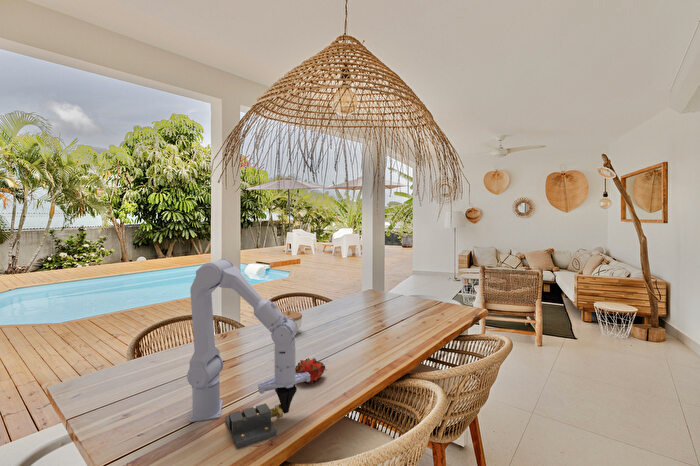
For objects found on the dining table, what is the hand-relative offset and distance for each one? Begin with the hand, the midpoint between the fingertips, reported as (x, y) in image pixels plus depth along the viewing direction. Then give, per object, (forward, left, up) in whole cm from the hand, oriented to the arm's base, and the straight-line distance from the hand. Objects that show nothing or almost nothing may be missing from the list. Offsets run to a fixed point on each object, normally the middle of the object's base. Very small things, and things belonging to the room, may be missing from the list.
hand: (285, 411), depth 99 cm
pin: (+2, -7, -1) cm, 7 cm away
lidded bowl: (-70, +9, -2) cm, 71 cm away
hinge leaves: (+3, -9, -2) cm, 10 cm away
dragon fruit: (-20, +11, -2) cm, 23 cm away
